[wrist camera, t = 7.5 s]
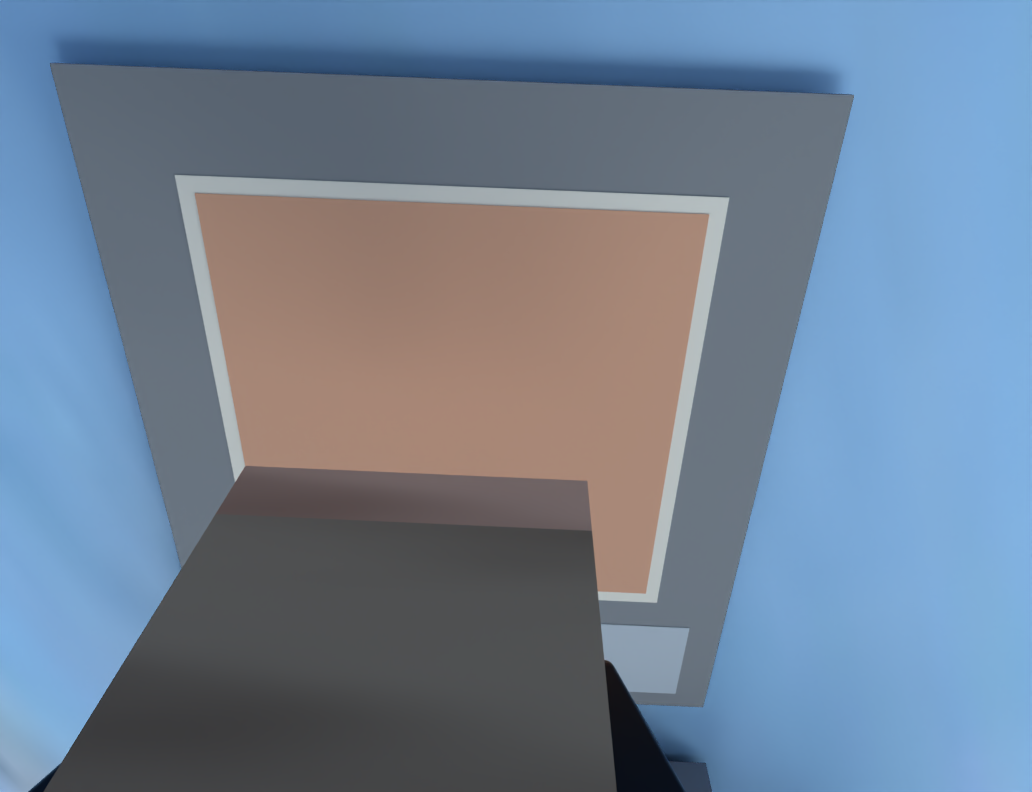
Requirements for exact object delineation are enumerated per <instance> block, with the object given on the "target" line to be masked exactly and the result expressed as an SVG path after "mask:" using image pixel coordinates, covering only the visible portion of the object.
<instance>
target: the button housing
mask: <svg viewBox="0 0 1032 792" xmlns="http://www.w3.org/2000/svg"><path fill="white" fill-rule="evenodd" d="M669 763H670V764H671V766H672V768H673V770H674V771H675V773H676V775H677V777H678V778H679V780H680V782H681V784H682V785H683V787H684V789H685V791H686V792H712V790H711V785H710V781H709V776H708V771H707V767H706V763H694V762H673V761H669Z"/></svg>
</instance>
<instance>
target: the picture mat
mask: <svg viewBox="0 0 1032 792" xmlns="http://www.w3.org/2000/svg"><path fill="white" fill-rule="evenodd" d="M50 67H51V71H52V74H53V78H54V82H55V86H56V90H57V94H58V97H59V101H60V105H61V109H62V113H63V116H64V120H65V124H66V128H67V132H68V136H69V139H70V143H71V147H72V151H73V155H74V159H75V162H76V166H77V170H78V174H79V178H80V182H81V185H82V189H83V193H84V197H85V201H86V205H87V208H88V212H89V216H90V220H91V224H92V227H93V231H94V235H95V239H96V243H97V247H98V250H99V254H100V258H101V262H102V266H103V270H104V273H105V277H106V281H107V285H108V289H109V293H110V296H111V300H112V304H113V308H114V312H115V315H116V319H117V323H118V327H119V331H120V335H121V338H122V342H123V346H124V350H125V354H126V358H127V361H128V365H129V369H130V373H131V377H132V381H133V384H134V388H135V392H136V396H137V400H138V404H139V407H140V411H141V415H142V419H143V423H144V426H145V430H146V434H147V438H148V442H149V446H150V449H151V453H152V457H153V461H154V465H155V469H156V472H157V476H158V480H159V484H160V488H161V492H162V495H163V499H164V503H165V507H166V511H167V514H168V518H169V522H170V526H171V530H172V534H173V537H174V541H175V545H176V549H177V553H178V557H179V560H180V564H181V568H182V567H183V566H184V564H185V563H186V561H187V559H188V558H189V556H190V554H191V553H192V551H193V550H194V548H195V546H196V545H197V543H198V542H199V540H200V538H201V537H202V535H203V533H204V532H205V530H206V529H207V527H208V525H209V524H210V522H211V521H212V519H213V517H214V516H215V514H216V512H217V511H218V509H219V508H220V506H221V504H222V503H223V501H224V500H225V498H226V496H227V495H228V493H229V491H230V490H231V488H232V487H233V485H234V483H235V482H236V480H237V479H238V477H239V475H240V474H241V472H242V470H243V469H244V467H245V466H262V467H285V468H307V469H330V470H353V471H375V472H398V473H421V474H443V475H466V476H489V477H511V478H534V479H557V480H579V481H587V483H588V494H589V504H590V515H591V525H592V536H593V547H594V557H595V568H596V578H597V589H598V599H599V610H600V620H601V631H602V641H603V652H604V660H608V661H610V662H611V663H612V664H613V665H614V667H615V668H616V670H617V672H618V674H619V675H620V677H621V679H622V681H623V682H624V684H625V686H626V688H627V689H628V691H629V693H630V695H631V696H632V698H633V700H634V702H635V703H636V704H645V705H667V706H688V707H703V705H704V701H705V697H706V693H707V689H708V685H709V681H710V677H711V673H712V669H713V665H714V661H715V657H716V653H717V649H718V644H719V640H720V636H721V632H722V628H723V624H724V620H725V616H726V612H727V608H728V604H729V600H730V596H731V592H732V588H733V584H734V580H735V576H736V572H737V568H738V564H739V560H740V555H741V551H742V547H743V543H744V539H745V535H746V531H747V527H748V523H749V519H750V515H751V511H752V507H753V503H754V499H755V495H756V491H757V487H758V483H759V479H760V475H761V471H762V466H763V462H764V458H765V454H766V450H767V446H768V442H769V438H770V434H771V430H772V426H773V422H774V418H775V414H776V410H777V406H778V402H779V398H780V394H781V390H782V386H783V382H784V377H785V373H786V369H787V365H788V361H789V357H790V353H791V349H792V345H793V341H794V337H795V333H796V329H797V325H798V321H799V317H800V313H801V309H802V305H803V301H804V297H805V293H806V288H807V284H808V280H809V276H810V272H811V268H812V264H813V260H814V256H815V252H816V248H817V244H818V240H819V236H820V232H821V228H822V224H823V220H824V216H825V212H826V208H827V204H828V199H829V195H830V191H831V187H832V183H833V179H834V175H835V171H836V167H837V163H838V159H839V155H840V151H841V147H842V143H843V139H844V135H845V131H846V127H847V123H848V119H849V115H850V110H851V106H852V102H853V98H854V95H850V94H824V93H799V92H774V91H749V90H724V89H698V88H673V87H648V86H623V85H598V84H572V83H547V82H522V81H497V80H472V79H446V78H421V77H396V76H371V75H346V74H320V73H295V72H270V71H245V70H220V69H194V68H169V67H144V66H119V65H94V64H68V63H50Z"/></svg>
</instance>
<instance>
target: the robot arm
mask: <svg viewBox="0 0 1032 792" xmlns="http://www.w3.org/2000/svg"><path fill="white" fill-rule="evenodd" d="M604 662H605V673H606V683H607V694H608V705H609V715H610V726H611V736H612V747H613V757H614V768H615V778H616V789H617V792H686V791H685V789H684V787H683V785H682V784H681V782H680V780H679V778H678V777H677V775H676V773H675V771H674V770H673V768H672V766H671V764H670V763H669V761H668V759H667V758H666V756H665V754H664V752H663V751H662V749H661V747H660V745H659V744H658V742H657V740H656V738H655V737H654V735H653V733H652V731H651V730H650V728H649V726H648V724H647V723H646V721H645V719H644V717H643V716H642V714H641V712H640V710H639V709H638V707H637V705H636V703H635V702H634V700H633V698H632V696H631V695H630V693H629V691H628V689H627V688H626V686H625V684H624V682H623V681H622V679H621V677H620V675H619V674H618V672H617V670H616V668H615V667H614V665H613V664H612V663H611V662H610V661H608V660H604ZM59 766H60V764H59V765H58V766H57V767H56V768H55V769H54V770H53V771H51V772H50V773H49V774H48V775H47V776H46V777H45V778H43V779H42V780H41V781H40V782H39V783H38V784H37V785H35V786H34V787H33V788H32V789H31V790H30V791H29V792H44V790H45V789H46V787H47V785H48V784H49V782H50V781H51V779H52V777H53V776H54V774H55V773H56V771H57V769H58V768H59Z"/></svg>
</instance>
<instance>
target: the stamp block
mask: <svg viewBox="0 0 1032 792" xmlns="http://www.w3.org/2000/svg"><path fill="white" fill-rule="evenodd" d="M44 792H617V789H616V778H615V768H614V757H613V747H612V736H611V726H610V715H609V705H608V694H607V683H606V673H605V662H604V652H603V641H602V631H601V620H600V610H599V599H598V589H597V578H596V568H595V557H594V547H593V536H592V525H591V515H590V504H589V494H588V483H587V481H579V480H557V479H534V478H511V477H489V476H466V475H443V474H421V473H398V472H375V471H353V470H330V469H307V468H285V467H262V466H245V467H244V469H243V470H242V472H241V474H240V475H239V477H238V479H237V480H236V482H235V483H234V485H233V487H232V488H231V490H230V491H229V493H228V495H227V496H226V498H225V500H224V501H223V503H222V504H221V506H220V508H219V509H218V511H217V512H216V514H215V516H214V517H213V519H212V521H211V522H210V524H209V525H208V527H207V529H206V530H205V532H204V533H203V535H202V537H201V538H200V540H199V542H198V543H197V545H196V546H195V548H194V550H193V551H192V553H191V554H190V556H189V558H188V559H187V561H186V563H185V564H184V566H183V567H182V569H181V571H180V572H179V574H178V575H177V577H176V579H175V580H174V582H173V584H172V585H171V587H170V588H169V590H168V592H167V593H166V595H165V596H164V598H163V600H162V601H161V603H160V605H159V606H158V608H157V609H156V611H155V613H154V614H153V616H152V617H151V619H150V621H149V622H148V624H147V626H146V627H145V629H144V630H143V632H142V634H141V635H140V637H139V638H138V640H137V642H136V643H135V645H134V647H133V648H132V650H131V651H130V653H129V655H128V656H127V658H126V659H125V661H124V663H123V664H122V666H121V668H120V669H119V671H118V672H117V674H116V676H115V677H114V679H113V680H112V682H111V684H110V685H109V687H108V689H107V690H106V692H105V693H104V695H103V697H102V698H101V700H100V701H99V703H98V705H97V706H96V708H95V710H94V711H93V713H92V714H91V716H90V718H89V719H88V721H87V722H86V724H85V726H84V727H83V729H82V731H81V732H80V734H79V735H78V737H77V739H76V740H75V742H74V743H73V745H72V747H71V748H70V750H69V752H68V753H67V755H66V756H65V758H64V760H63V761H62V763H61V764H60V766H59V768H58V769H57V771H56V773H55V774H54V776H53V777H52V779H51V781H50V782H49V784H48V785H47V787H46V789H45V790H44Z"/></svg>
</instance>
